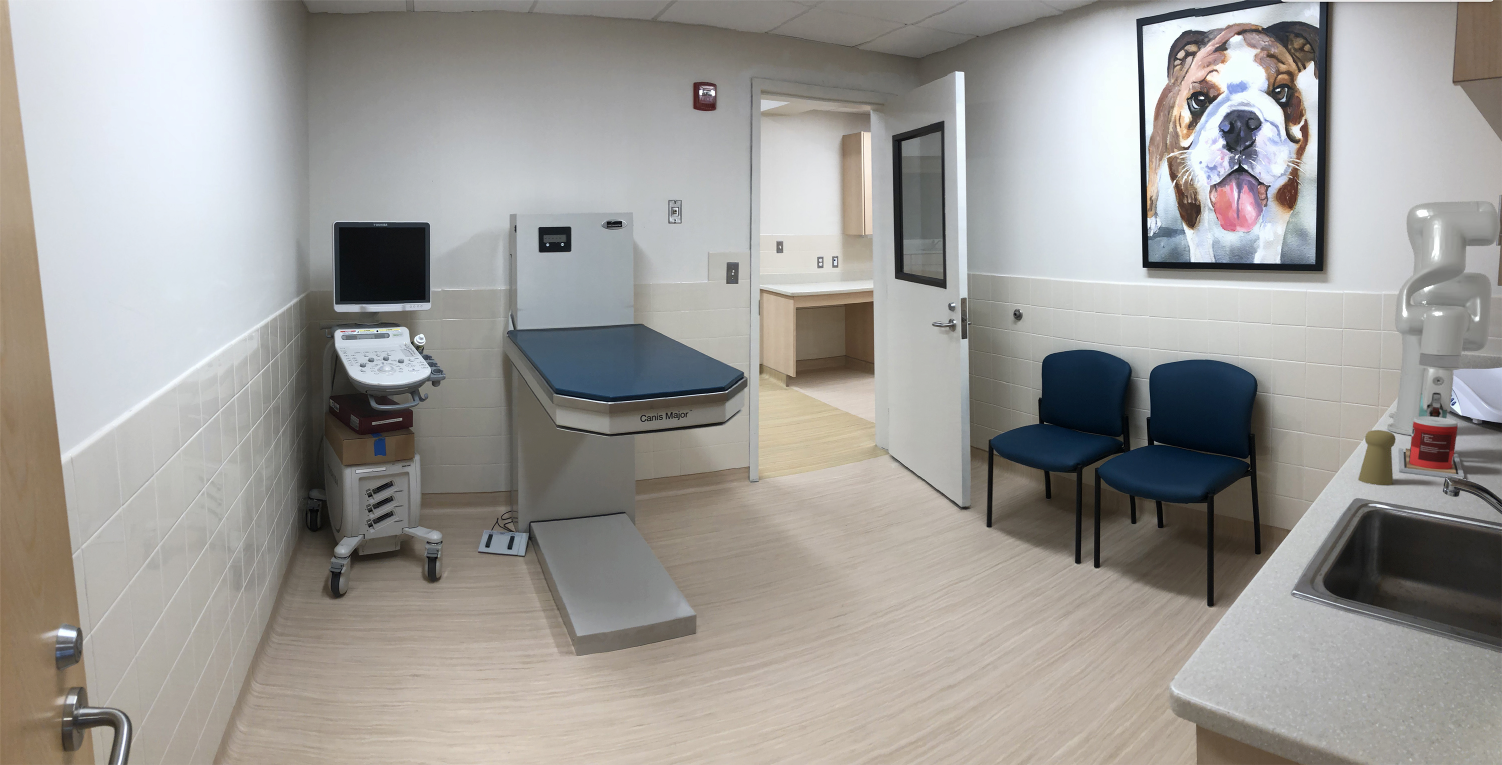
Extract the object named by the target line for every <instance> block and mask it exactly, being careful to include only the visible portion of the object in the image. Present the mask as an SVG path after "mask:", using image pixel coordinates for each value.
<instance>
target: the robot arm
mask: <svg viewBox="0 0 1502 765" xmlns="http://www.w3.org/2000/svg"><path fill="white" fill-rule="evenodd" d="M1500 221H1501V220H1500V216H1499V213H1498V212H1497V208H1496V206H1495V205H1494V204H1493V203H1492V202H1490V201H1486V200H1485V201H1483V200H1478V201H1475V200H1474V201H1473V200H1471V201H1434V202H1424V203H1420V204H1417V205H1415V206H1413V207H1411V208H1410V209H1409V211H1408V212H1407V216H1406V232H1407V237H1408V240H1409V243H1410V246H1411V248H1412V252H1413V256H1414V257H1413V258H1414V261H1413V271H1412V272H1413V274H1412V275H1411V276H1410V277H1409V278H1408V279H1407V280H1405V282H1404V283H1403V284H1402V286H1401V288H1400V289H1399V292H1398V293H1397V298H1396V305H1395V306H1396V307H1395V315H1394V316H1395V318H1394V320H1395V321H1394V324H1395V325H1394V326H1395V328H1396V331H1397V332H1398V333H1399V334H1401V342H1402V358H1401V369H1400V377H1399V385H1398V386H1399V387H1398V395H1397V401H1396V402H1397V403H1396V411H1393V412H1394V413H1393V412H1390V413H1389V414H1388V417H1389V418H1390V419H1392V420H1393V421H1392V422H1393V423H1388V424H1387V426H1386V428H1387V430H1388V431H1389V432H1391V433H1397V434H1401V435H1408V436H1412V429H1413V422H1414V418H1415V417H1419V410H1420V401H1421V393H1422V401H1423V409H1424V410H1426V411H1427V416H1428V417H1440V418H1442V410H1446V412H1447V413H1449V412H1450V411H1451V405H1452V404H1451V402H1452V394H1453V385H1454V371H1459V370H1460V369H1461V368H1460V367H1461V361H1462V352H1479V351H1481V350H1483V349H1485V347H1486V345H1487V343H1488V339H1489V332H1490V322H1491V321H1490V320H1491V306H1492V282H1491V279H1490V278H1489V277H1488V276H1487V275H1486V274H1483V273H1481V272H1466V266H1467V265H1466V264H1467V247H1489V246H1493V245H1494V244H1495V243H1496V241H1498V238H1499V236H1500V231H1501V222H1500ZM1411 300H1412V302H1413V304H1412V303H1411ZM1432 396H1433V400H1432ZM1442 408H1443V409H1442Z"/></svg>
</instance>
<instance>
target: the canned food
mask: <svg viewBox="0 0 1502 765" xmlns="http://www.w3.org/2000/svg"><path fill="white" fill-rule="evenodd" d="M1458 424H1459V422H1458V421H1457V420H1453V419H1449V418H1440V417H1428V416H1421V417H1415V418H1414V422H1413V429H1412V435H1411V438H1410V439H1411V440H1410V448H1409V449H1410V456H1409V463H1410V464H1412V465H1415V466H1419V467H1423V468H1430V469H1451V468H1452V465H1453V458H1454V454H1455V450H1456V442H1457V436H1458V435H1457V434H1458V428H1459V427H1458V426H1459V425H1458Z"/></svg>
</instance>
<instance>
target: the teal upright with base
mask: <svg viewBox="0 0 1502 765" xmlns="http://www.w3.org/2000/svg"><path fill="white" fill-rule="evenodd" d="M1432 400H1433V396H1432ZM1442 409H1443V408H1442ZM1421 416H1427V411H1426V410H1424V409H1423V401H1422V393H1421V401H1420V410H1419V417H1421ZM1447 416H1448V412H1446V410H1442V418H1446V419H1448V418H1447ZM1405 452H1406V467H1407V468H1408V469H1416V470H1425V471H1433V472H1442V473H1450V474H1456V470H1455V466H1454V462H1453V465H1452V468H1451V469H1430V468H1423V467H1419V466H1415V465H1412V464H1410V463H1409V456H1410V448H1405Z"/></svg>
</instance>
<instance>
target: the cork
mask: <svg viewBox="0 0 1502 765" xmlns="http://www.w3.org/2000/svg"><path fill="white" fill-rule="evenodd" d="M1364 441H1365V444H1366V445H1367V446H1366V449H1365V454H1364V458H1363V461H1362V465H1361V468H1360V472H1359V475H1358V479H1357V480H1358V481H1359V482H1362V483H1365V484H1369V483H1370V484H1369V485H1375V484H1376V485H1377V486H1392V485H1393V484H1394V476H1393V457H1392V454H1393V453H1392V447H1394V445H1395V444H1396V436H1395V434H1394V432H1392V431H1389V430H1388V431H1387V430H1383V429H1382V430H1381V429H1374V430H1369V431H1368V432H1367V433H1366V434H1365V436H1364Z"/></svg>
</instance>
